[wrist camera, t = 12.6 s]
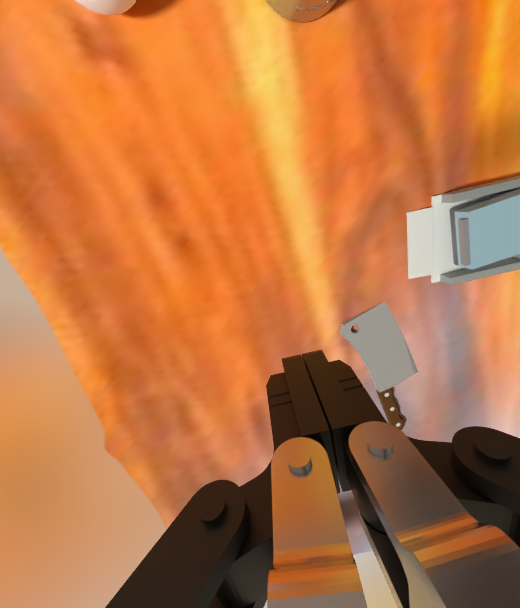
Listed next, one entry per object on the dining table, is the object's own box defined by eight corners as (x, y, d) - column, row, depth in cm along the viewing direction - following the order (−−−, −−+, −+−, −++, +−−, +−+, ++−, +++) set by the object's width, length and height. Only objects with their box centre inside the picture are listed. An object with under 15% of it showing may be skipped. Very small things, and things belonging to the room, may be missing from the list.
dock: (405, 202, 34) (418, 202, 32) (525, 174, 34) (546, 172, 32) (408, 286, 39) (419, 292, 36) (514, 262, 38) (532, 266, 36)
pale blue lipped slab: (437, 212, 35) (463, 214, 30) (514, 185, 34) (551, 183, 30) (442, 263, 37) (466, 271, 33) (514, 239, 36) (548, 244, 32)
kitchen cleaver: (437, 414, 47) (384, 438, 47) (433, 410, 47) (380, 433, 48) (400, 293, 38) (336, 323, 39) (396, 291, 39) (334, 321, 40)
